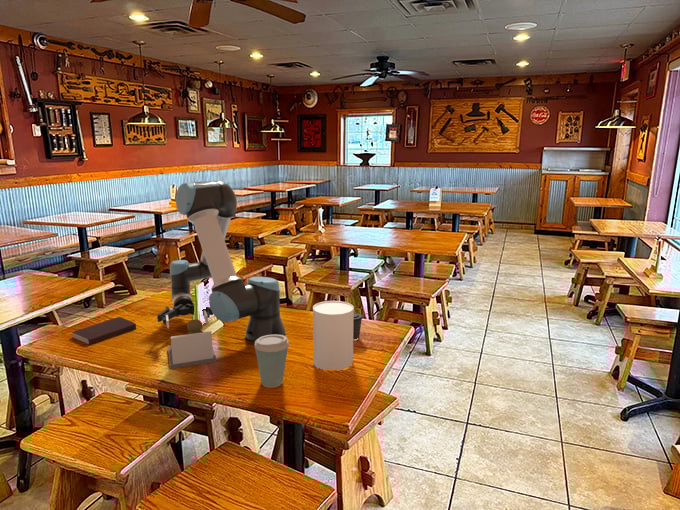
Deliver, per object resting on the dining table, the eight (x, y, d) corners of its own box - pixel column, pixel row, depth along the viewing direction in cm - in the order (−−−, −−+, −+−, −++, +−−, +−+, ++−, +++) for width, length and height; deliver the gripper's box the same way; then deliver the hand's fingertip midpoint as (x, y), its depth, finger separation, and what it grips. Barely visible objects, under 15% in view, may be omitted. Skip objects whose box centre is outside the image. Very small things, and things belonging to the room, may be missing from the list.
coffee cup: (339, 341, 175) (339, 316, 173) (344, 333, 183) (344, 309, 181) (360, 343, 173) (360, 318, 171) (364, 335, 181) (364, 311, 179)
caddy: (168, 349, 167) (165, 322, 165) (210, 343, 173) (209, 317, 171) (170, 368, 153) (167, 339, 151) (216, 361, 159) (214, 332, 156)
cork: (202, 341, 169) (201, 315, 164) (206, 350, 164) (205, 324, 160) (185, 345, 166) (183, 319, 162) (188, 354, 161) (187, 327, 157)
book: (136, 330, 187) (136, 322, 186) (89, 346, 171) (88, 338, 170) (119, 323, 194) (118, 316, 193) (72, 338, 178) (70, 330, 177)
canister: (331, 376, 149) (331, 317, 144) (305, 362, 159) (304, 306, 154) (361, 363, 158) (362, 307, 153) (334, 350, 167) (334, 298, 163)
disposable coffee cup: (248, 385, 143) (246, 339, 140) (271, 371, 152) (270, 328, 148) (274, 395, 137) (272, 348, 134) (296, 380, 146) (296, 336, 142)
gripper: (215, 309, 194) (222, 326, 174) (151, 316, 184) (151, 336, 165) (214, 291, 192) (221, 308, 173) (149, 298, 183) (150, 316, 163)
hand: (187, 321), depth 169 cm, fingers open, 13 cm apart
